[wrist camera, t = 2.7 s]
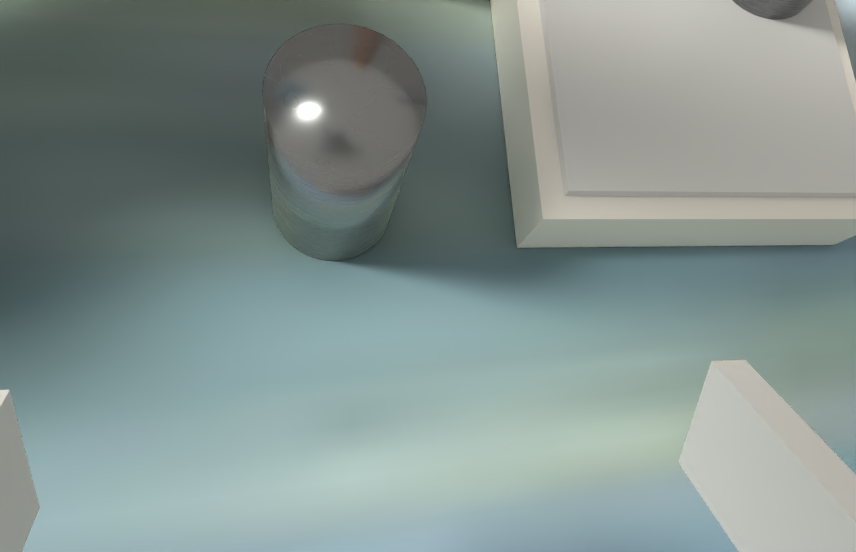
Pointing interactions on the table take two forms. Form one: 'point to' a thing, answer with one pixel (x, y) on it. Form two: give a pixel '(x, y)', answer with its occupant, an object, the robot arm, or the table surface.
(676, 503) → the table surface
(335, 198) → the ball
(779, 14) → the cylinder
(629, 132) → the scale
